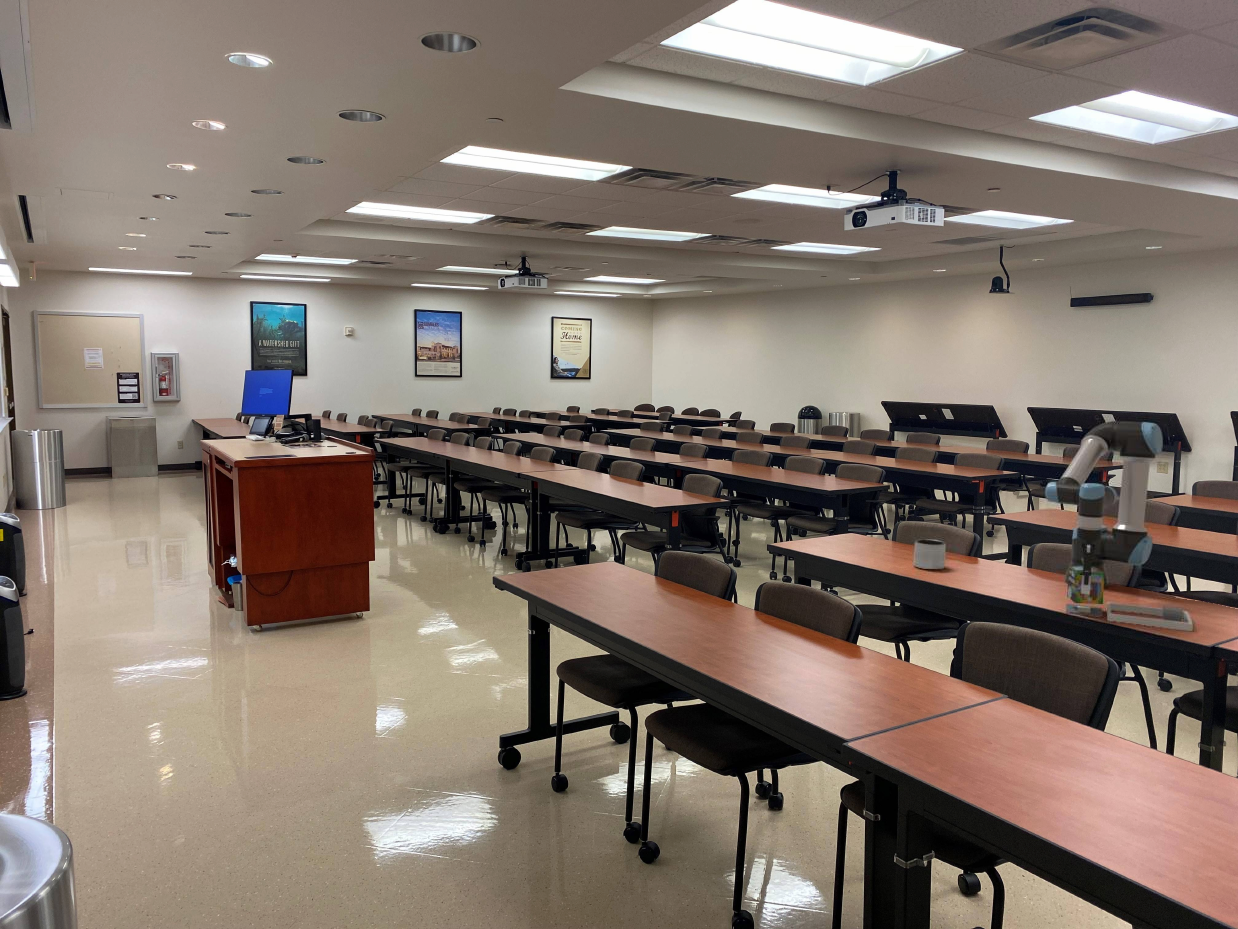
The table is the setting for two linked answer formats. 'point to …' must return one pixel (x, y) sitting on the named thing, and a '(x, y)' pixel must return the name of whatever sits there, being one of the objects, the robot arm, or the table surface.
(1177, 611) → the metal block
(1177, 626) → the tray
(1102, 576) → the chalk box
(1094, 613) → the pad
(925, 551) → the planter
